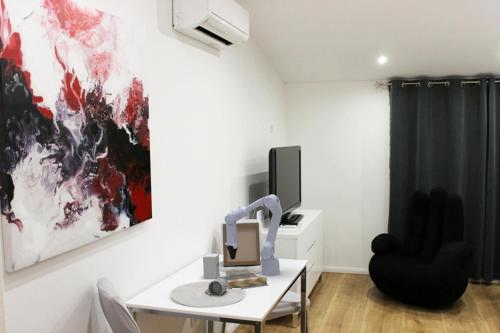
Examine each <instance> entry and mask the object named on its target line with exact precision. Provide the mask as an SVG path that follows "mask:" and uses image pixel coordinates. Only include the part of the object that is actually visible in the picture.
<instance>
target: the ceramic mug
mask: <svg viewBox="0 0 500 333" xmlns="http://www.w3.org/2000/svg"><path fill="white" fill-rule="evenodd" d="M227 287H228V284H227V282H226V280H225V279H223V278H217V279H213V280H212V281H210V283H209V284H208V286H207V289H206V290H205V294H206V293H207V294H206V295H209V294H210V295H211V296H215V295H217V296H218V297H220V296H221V295H222V294H224V293H225V292H226V291H227V289H228V288H227ZM215 293H216V294H215Z"/></svg>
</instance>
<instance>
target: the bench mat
mask: <svg viewBox="0 0 500 333" xmlns="http://www.w3.org/2000/svg"><path fill="white" fill-rule="evenodd" d="M251 275H255V277H259V276H258V275H256V274H255V272H251ZM218 278H223V279H225V280H226V282H227V281H229V280H228V279H227V278H226V275H225V276H219V277H218ZM218 278H217V279H218ZM268 286H269V284H268V283H267V284H264V285H257V286H249V287H242V288H241V289H240V290H246V289H252V288H261V287H268Z"/></svg>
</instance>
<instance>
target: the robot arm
mask: <svg viewBox="0 0 500 333" xmlns="http://www.w3.org/2000/svg"><path fill="white" fill-rule="evenodd" d="M259 207H266V208H267V209H268V210H269V211H270V212H271V214H272V215H271V220H270V223H269V227H268V231H267V235H266V239H265V242H264V245H263V248H262V249H260V265H261V272H259V275H260V276H266V277H273V276H274V277H275V276H280V275H281V272H280V261H279V259H278V257H275V256H274V254H275V252H276V250H275V247H276V246H275V245H276V243H275V242H276V239H277V234H278V230H279V227H280V223H281V220H282V217H283V216H282V215H283V209H282V206H281V200H280V199H279V197H278V196H277V195H275V194H274V193H273V194H269V195H267V196H264V197H261V198H259V199H258V200H256V201H254V202H252V203H250V204H249V205H246V206H238V207H237V209H235V210H231V211H230V213H228V214H226V215H225V216H224V222H225V224H226V233H227V243H225V245H229V246H226V247H227V249H228V251H229V255H230V258H231V259H235V256H236V252H237V249H238V247H237V244H238V243H237V228H236V223H237V222H238V221H241V220H242V219H244V218H245V217H247V216H248V214H249V212H251V211H253V210H255V209H257V208H259Z"/></svg>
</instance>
